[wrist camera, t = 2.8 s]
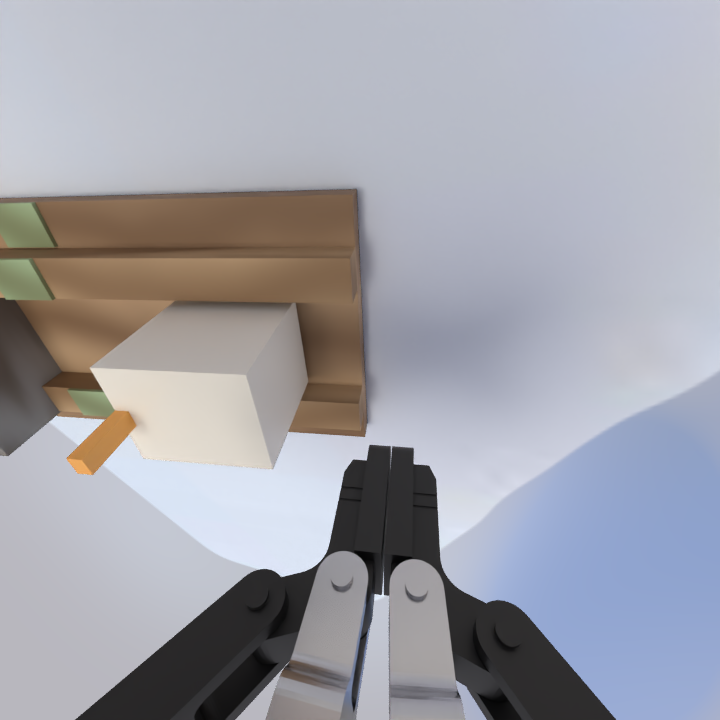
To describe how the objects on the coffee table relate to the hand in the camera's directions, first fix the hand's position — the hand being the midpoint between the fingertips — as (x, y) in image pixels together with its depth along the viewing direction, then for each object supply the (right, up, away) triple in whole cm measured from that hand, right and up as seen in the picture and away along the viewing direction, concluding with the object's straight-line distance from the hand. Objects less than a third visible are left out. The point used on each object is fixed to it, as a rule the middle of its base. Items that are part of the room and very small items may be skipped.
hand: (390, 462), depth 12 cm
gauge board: (-12, +6, +8) cm, 15 cm away
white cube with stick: (-7, +4, +7) cm, 11 cm away
